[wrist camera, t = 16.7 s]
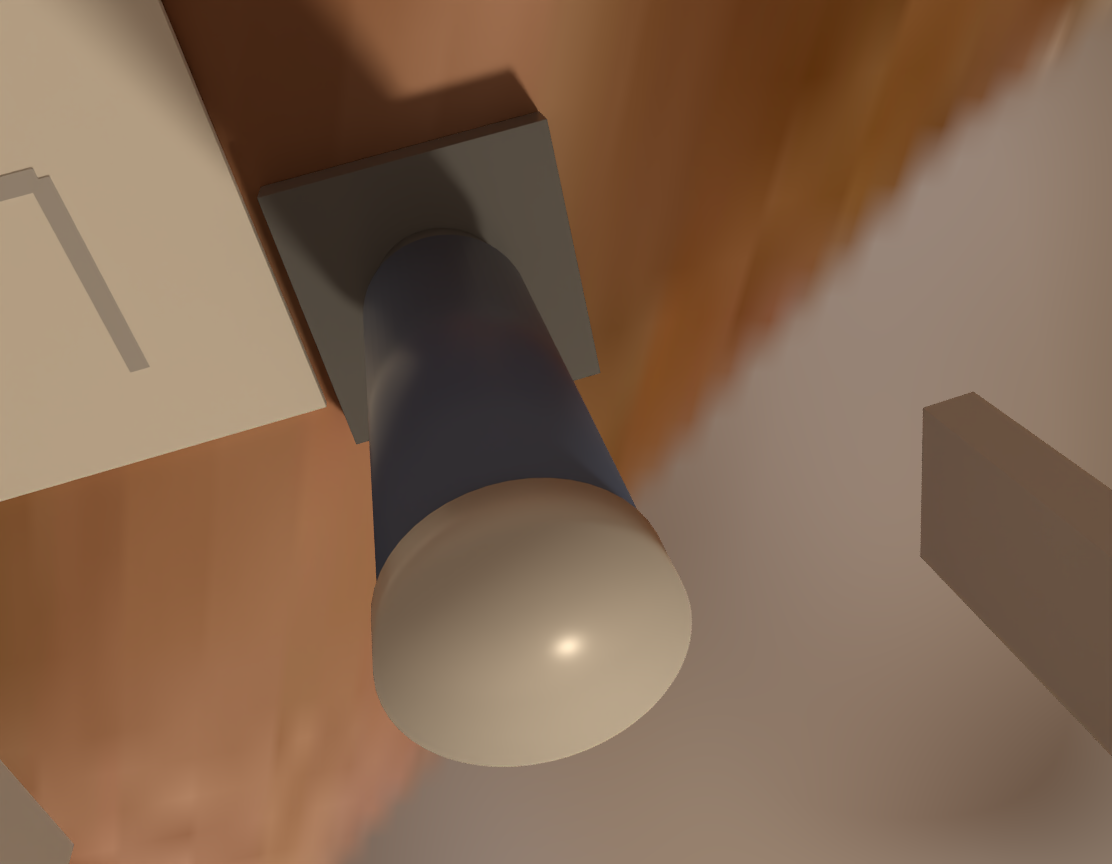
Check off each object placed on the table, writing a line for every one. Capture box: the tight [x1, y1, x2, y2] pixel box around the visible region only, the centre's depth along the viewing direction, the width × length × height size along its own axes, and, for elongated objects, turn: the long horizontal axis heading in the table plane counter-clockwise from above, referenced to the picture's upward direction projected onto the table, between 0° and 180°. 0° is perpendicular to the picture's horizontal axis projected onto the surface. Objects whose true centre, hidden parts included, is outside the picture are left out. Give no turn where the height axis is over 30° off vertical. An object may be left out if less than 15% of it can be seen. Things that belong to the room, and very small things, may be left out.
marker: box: [363, 228, 692, 767], centre depth 17 cm, size 4×4×13 cm
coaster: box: [257, 111, 600, 444], centre depth 23 cm, size 7×7×1 cm
